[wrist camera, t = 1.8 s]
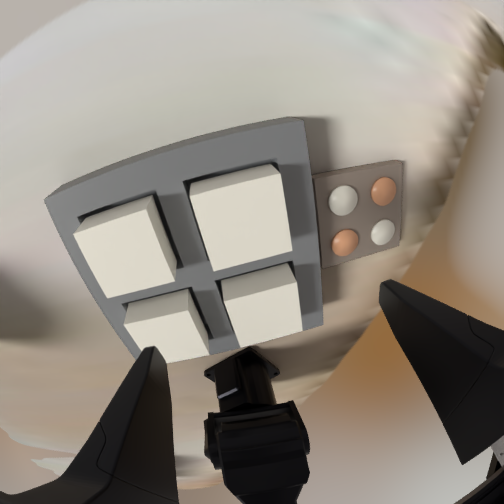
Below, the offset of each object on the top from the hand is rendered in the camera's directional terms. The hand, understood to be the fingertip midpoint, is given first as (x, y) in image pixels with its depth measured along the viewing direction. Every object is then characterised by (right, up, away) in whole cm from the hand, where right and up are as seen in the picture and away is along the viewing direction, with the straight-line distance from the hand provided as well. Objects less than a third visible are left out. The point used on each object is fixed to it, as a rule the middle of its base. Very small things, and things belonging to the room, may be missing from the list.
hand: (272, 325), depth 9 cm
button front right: (-2, +5, +9) cm, 10 cm away
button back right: (0, -1, +13) cm, 13 cm away
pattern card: (+8, +6, +14) cm, 17 cm away
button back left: (-7, -3, +12) cm, 15 cm away
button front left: (-9, +3, +9) cm, 13 cm away
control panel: (-5, +2, +13) cm, 14 cm away
